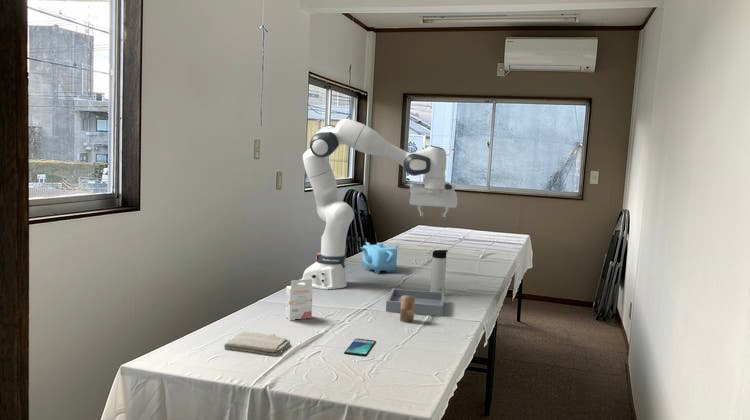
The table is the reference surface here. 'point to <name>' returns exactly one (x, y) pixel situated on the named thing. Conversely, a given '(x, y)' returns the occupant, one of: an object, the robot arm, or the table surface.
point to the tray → (417, 301)
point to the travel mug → (438, 271)
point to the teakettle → (379, 257)
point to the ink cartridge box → (299, 300)
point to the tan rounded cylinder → (407, 308)
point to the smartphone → (360, 347)
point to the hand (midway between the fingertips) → (432, 217)
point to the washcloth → (258, 343)
